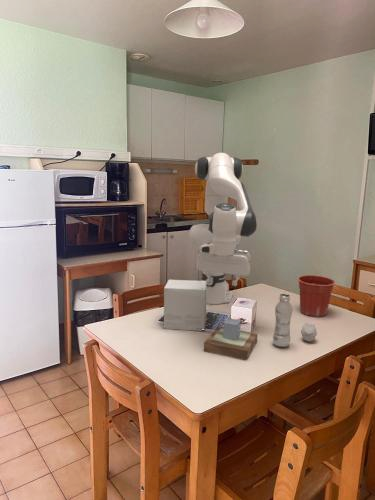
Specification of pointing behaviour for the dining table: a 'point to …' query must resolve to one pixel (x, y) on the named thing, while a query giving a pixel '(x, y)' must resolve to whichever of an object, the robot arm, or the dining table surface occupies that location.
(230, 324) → the slate block
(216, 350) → the walnut stand
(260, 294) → the dining table surface
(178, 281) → the supplement box
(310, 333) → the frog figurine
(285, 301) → the plastic bottle
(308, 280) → the flower pot
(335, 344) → the dining table surface
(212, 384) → the dining table surface
